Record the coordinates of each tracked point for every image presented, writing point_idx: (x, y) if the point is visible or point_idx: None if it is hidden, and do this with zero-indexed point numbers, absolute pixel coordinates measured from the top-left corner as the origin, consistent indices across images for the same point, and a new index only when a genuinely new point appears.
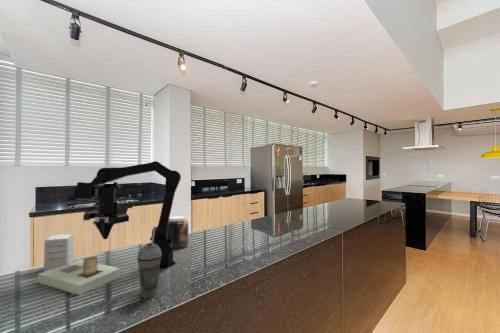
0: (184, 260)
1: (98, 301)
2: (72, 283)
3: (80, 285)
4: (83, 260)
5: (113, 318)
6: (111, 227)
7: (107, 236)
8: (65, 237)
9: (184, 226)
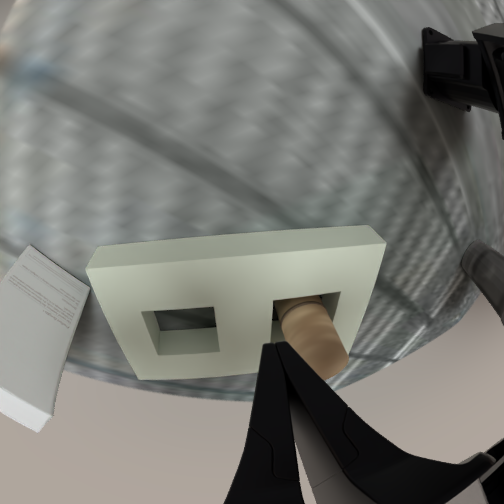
0: (472, 23)
1: (397, 321)
2: None
3: (347, 353)
4: None
5: (442, 323)
6: (378, 437)
7: (301, 363)
8: (29, 411)
9: None
